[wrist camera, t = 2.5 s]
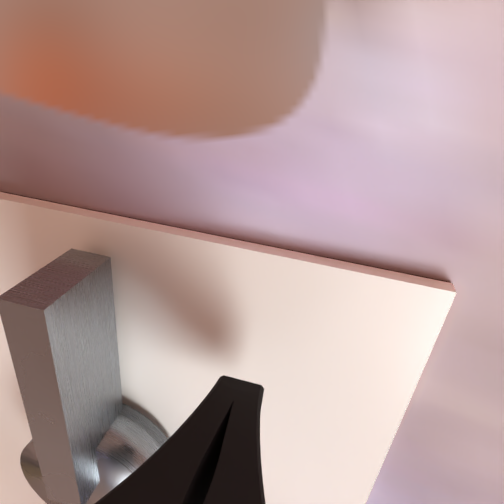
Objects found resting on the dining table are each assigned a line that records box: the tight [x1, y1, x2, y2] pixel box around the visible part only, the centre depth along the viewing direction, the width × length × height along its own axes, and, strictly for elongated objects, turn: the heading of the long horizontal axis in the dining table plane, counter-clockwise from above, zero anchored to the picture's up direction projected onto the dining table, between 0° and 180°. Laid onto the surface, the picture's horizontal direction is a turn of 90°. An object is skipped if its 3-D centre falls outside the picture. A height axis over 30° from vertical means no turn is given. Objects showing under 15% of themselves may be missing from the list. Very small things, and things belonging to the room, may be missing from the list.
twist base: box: [0, 192, 457, 504], centre depth 18 cm, size 22×22×1 cm
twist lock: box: [0, 248, 168, 504], centre depth 14 cm, size 13×6×3 cm, turn 174°
